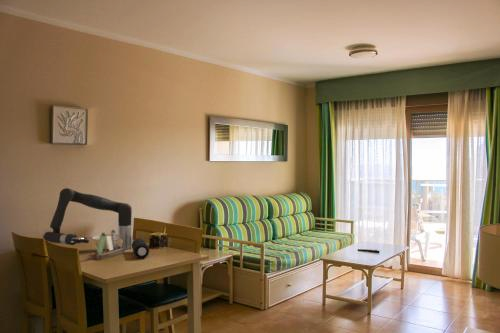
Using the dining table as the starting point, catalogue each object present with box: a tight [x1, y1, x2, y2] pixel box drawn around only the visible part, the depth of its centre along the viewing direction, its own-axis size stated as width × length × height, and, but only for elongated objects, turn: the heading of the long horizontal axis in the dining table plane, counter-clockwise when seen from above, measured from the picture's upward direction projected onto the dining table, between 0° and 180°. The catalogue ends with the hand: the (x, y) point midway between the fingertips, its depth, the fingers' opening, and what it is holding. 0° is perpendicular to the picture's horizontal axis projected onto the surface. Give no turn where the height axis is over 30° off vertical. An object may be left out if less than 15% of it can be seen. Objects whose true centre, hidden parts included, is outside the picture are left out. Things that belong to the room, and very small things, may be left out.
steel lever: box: [110, 229, 118, 249], centre depth 299 cm, size 2×3×13 cm
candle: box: [148, 232, 168, 248], centre depth 325 cm, size 10×10×10 cm
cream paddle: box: [105, 234, 114, 251], centre depth 293 cm, size 1×4×10 cm, turn 157°
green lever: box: [96, 232, 107, 254], centre depth 281 cm, size 3×4×15 cm
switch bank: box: [90, 246, 125, 261], centre depth 290 cm, size 9×23×5 cm, turn 157°
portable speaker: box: [131, 238, 150, 259], centre depth 294 cm, size 26×10×10 cm, turn 20°
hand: (87, 241), depth 286 cm, fingers closed
